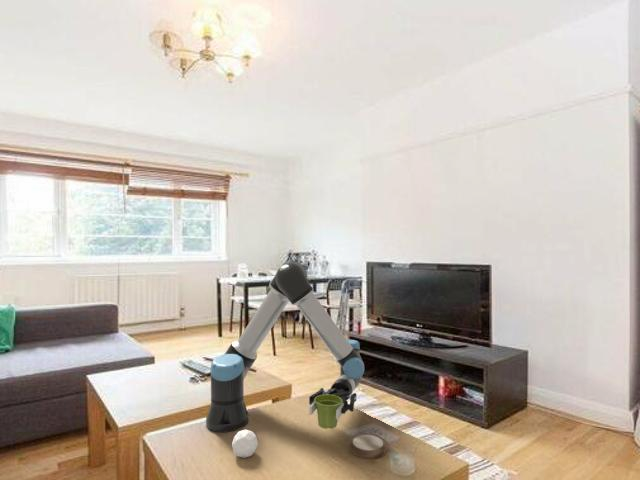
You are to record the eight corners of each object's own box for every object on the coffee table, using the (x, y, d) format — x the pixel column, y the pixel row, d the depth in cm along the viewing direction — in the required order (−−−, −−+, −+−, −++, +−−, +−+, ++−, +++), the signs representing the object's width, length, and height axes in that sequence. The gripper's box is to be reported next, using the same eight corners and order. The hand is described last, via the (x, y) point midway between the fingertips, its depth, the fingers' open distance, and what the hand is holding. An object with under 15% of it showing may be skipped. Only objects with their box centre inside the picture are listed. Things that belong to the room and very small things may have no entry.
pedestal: (374, 463, 122) (374, 456, 122) (341, 450, 129) (341, 443, 129) (393, 446, 131) (393, 440, 131) (362, 435, 139) (362, 429, 139)
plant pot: (325, 416, 143) (325, 391, 143) (347, 424, 137) (347, 399, 137) (308, 425, 136) (308, 399, 136) (330, 434, 130) (330, 407, 130)
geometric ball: (249, 460, 128) (263, 436, 131) (245, 465, 121) (260, 439, 123) (229, 447, 130) (243, 423, 132) (224, 450, 122) (240, 425, 125)
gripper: (370, 402, 150) (355, 430, 129) (316, 394, 157) (293, 419, 136) (370, 382, 150) (355, 406, 129) (316, 374, 157) (293, 396, 136)
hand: (323, 412), depth 132 cm, fingers closed on plant pot, 8 cm apart
